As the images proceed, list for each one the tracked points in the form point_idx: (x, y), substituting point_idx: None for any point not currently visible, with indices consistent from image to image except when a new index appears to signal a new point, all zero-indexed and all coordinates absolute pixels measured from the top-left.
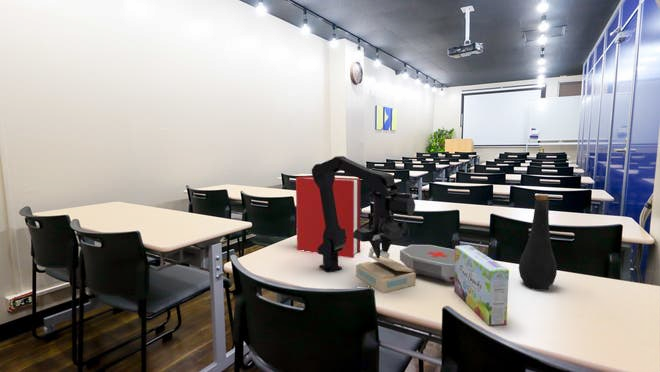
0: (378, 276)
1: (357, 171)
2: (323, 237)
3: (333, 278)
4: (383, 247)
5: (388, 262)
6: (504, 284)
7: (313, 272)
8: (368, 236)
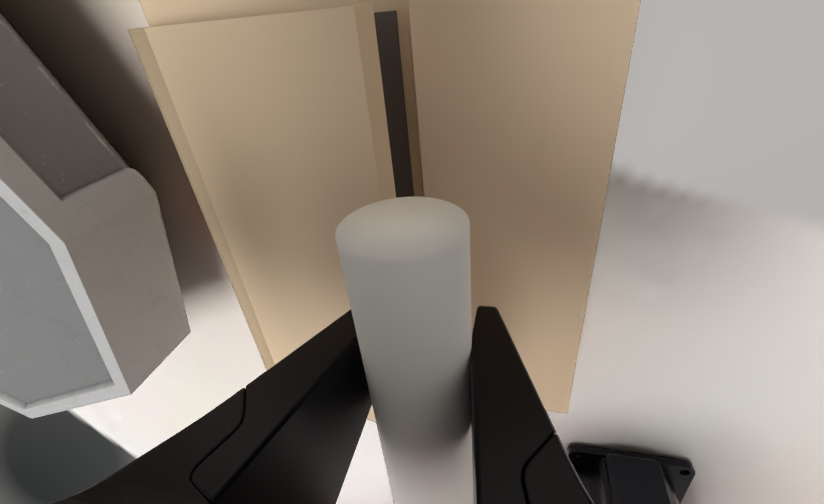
0: (623, 67)
1: None
2: None
3: (735, 387)
4: (330, 454)
5: (331, 271)
6: None
7: (763, 495)
8: None
